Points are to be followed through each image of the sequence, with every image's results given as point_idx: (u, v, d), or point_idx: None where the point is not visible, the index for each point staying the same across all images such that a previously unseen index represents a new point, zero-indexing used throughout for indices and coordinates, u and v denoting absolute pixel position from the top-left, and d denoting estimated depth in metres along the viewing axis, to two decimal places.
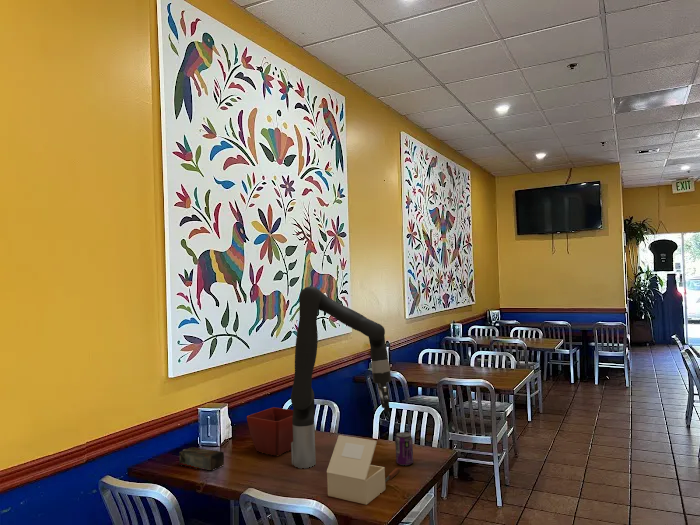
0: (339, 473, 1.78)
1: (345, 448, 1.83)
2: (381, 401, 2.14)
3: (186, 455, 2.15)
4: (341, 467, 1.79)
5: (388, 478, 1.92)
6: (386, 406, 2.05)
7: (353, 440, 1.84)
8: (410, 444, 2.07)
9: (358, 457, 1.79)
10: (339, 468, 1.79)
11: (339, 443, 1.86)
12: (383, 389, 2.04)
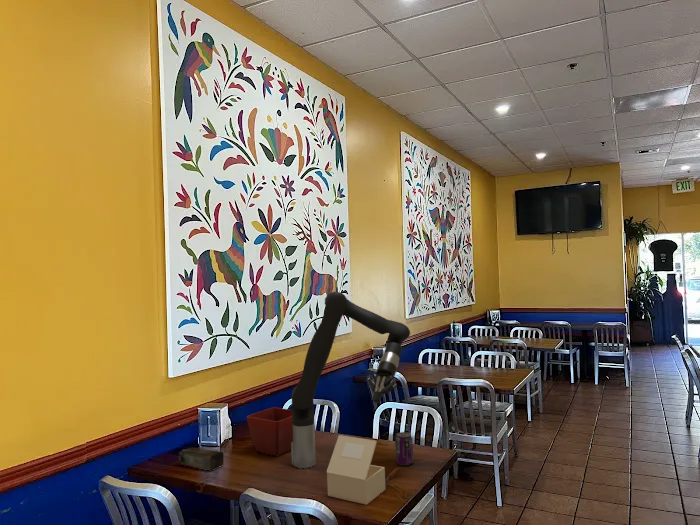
0: (339, 473, 1.78)
1: (345, 448, 1.83)
2: (376, 394, 2.00)
3: (186, 455, 2.15)
4: (341, 467, 1.79)
5: (387, 478, 1.92)
6: (380, 396, 2.00)
7: (353, 440, 1.84)
8: (410, 444, 2.07)
9: (358, 457, 1.79)
10: (339, 468, 1.79)
11: (339, 443, 1.86)
12: (394, 384, 2.01)
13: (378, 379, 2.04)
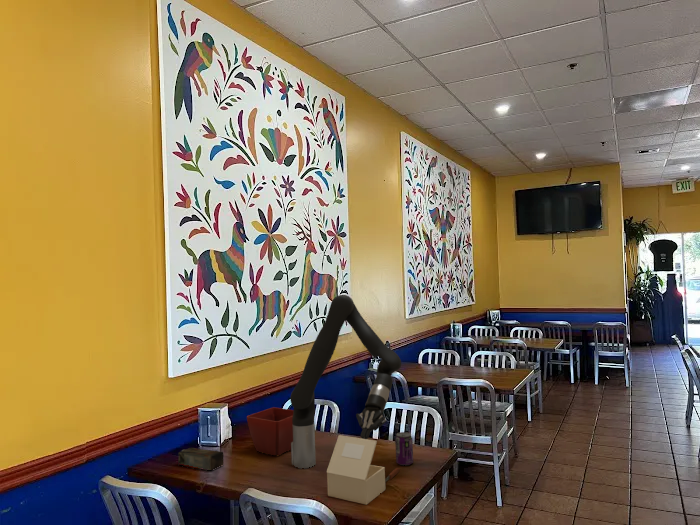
0: (339, 473, 1.78)
1: (345, 448, 1.83)
2: (364, 430, 1.89)
3: (186, 455, 2.15)
4: (341, 467, 1.79)
5: (388, 478, 1.92)
6: (368, 433, 1.89)
7: (353, 440, 1.84)
8: (410, 444, 2.07)
9: (358, 457, 1.79)
10: (339, 468, 1.79)
11: (339, 443, 1.86)
12: (383, 420, 1.90)
13: (366, 414, 1.93)
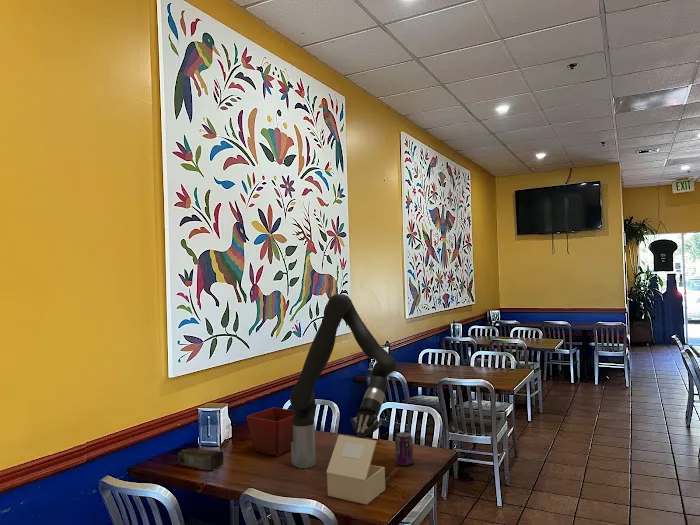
0: (339, 473, 1.78)
1: (345, 448, 1.83)
2: (359, 435, 1.85)
3: (185, 456, 2.14)
4: (341, 467, 1.79)
5: (388, 478, 1.92)
6: (363, 438, 1.85)
7: (353, 440, 1.84)
8: (410, 444, 2.07)
9: (358, 457, 1.79)
10: (339, 468, 1.79)
11: (339, 442, 1.86)
12: (377, 424, 1.86)
13: (361, 418, 1.89)
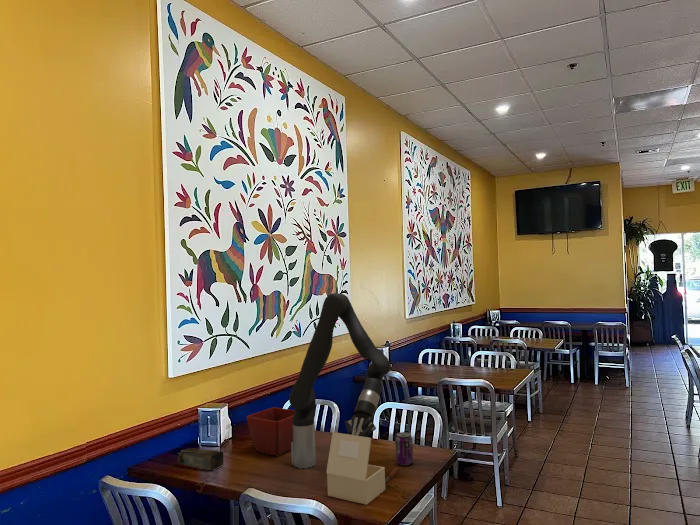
0: (339, 474, 1.78)
1: (341, 447, 1.81)
2: None
3: (185, 456, 2.14)
4: (340, 467, 1.78)
5: (388, 478, 1.92)
6: None
7: (347, 438, 1.81)
8: (410, 444, 2.07)
9: (354, 456, 1.77)
10: (338, 468, 1.78)
11: (334, 440, 1.83)
12: (372, 427, 1.82)
13: (355, 421, 1.86)
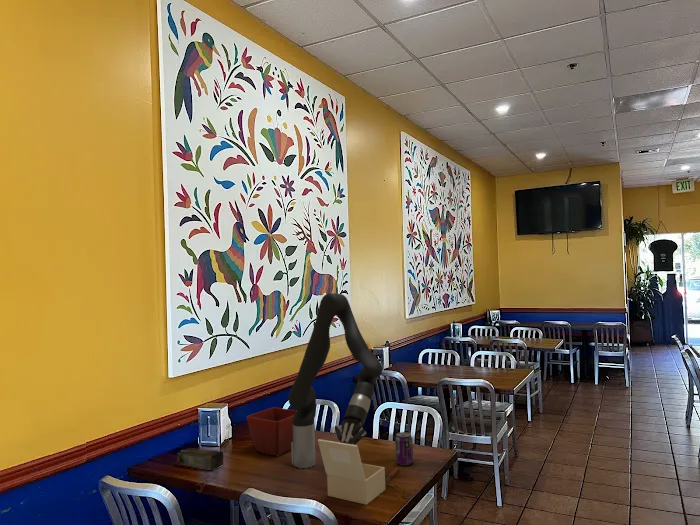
0: (338, 475, 1.77)
1: (331, 453, 1.75)
2: None
3: (185, 456, 2.14)
4: (337, 470, 1.77)
5: (388, 478, 1.92)
6: None
7: (334, 445, 1.74)
8: (410, 444, 2.07)
9: (347, 461, 1.73)
10: (336, 471, 1.77)
11: (322, 447, 1.77)
12: (363, 433, 1.76)
13: (345, 426, 1.79)
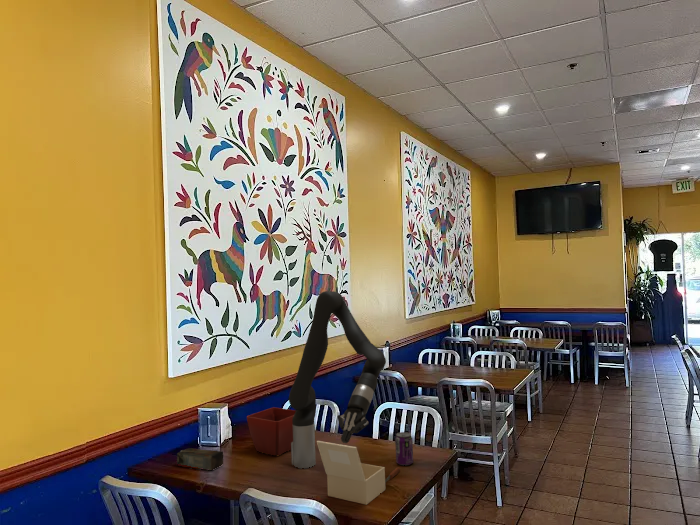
0: (338, 475, 1.77)
1: (331, 454, 1.75)
2: (345, 433, 1.78)
3: (185, 456, 2.14)
4: (337, 470, 1.77)
5: (388, 478, 1.92)
6: (349, 436, 1.78)
7: (333, 447, 1.73)
8: (410, 444, 2.07)
9: (347, 462, 1.73)
10: (336, 471, 1.77)
11: (321, 449, 1.76)
12: (365, 422, 1.79)
13: (348, 416, 1.82)
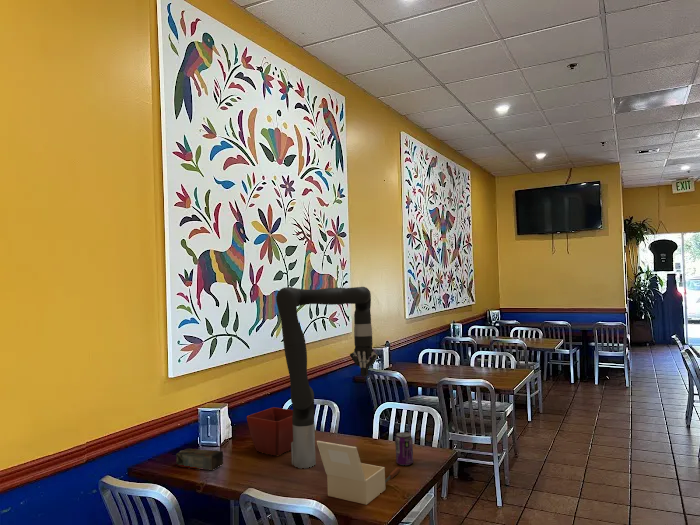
0: (338, 475, 1.77)
1: (331, 454, 1.75)
2: (363, 370, 2.08)
3: (184, 456, 2.14)
4: (337, 470, 1.77)
5: (389, 478, 1.92)
6: (367, 371, 2.08)
7: (333, 447, 1.73)
8: (410, 444, 2.07)
9: (347, 462, 1.73)
10: (336, 471, 1.77)
11: (321, 449, 1.76)
12: (375, 357, 2.05)
13: (359, 354, 2.08)
